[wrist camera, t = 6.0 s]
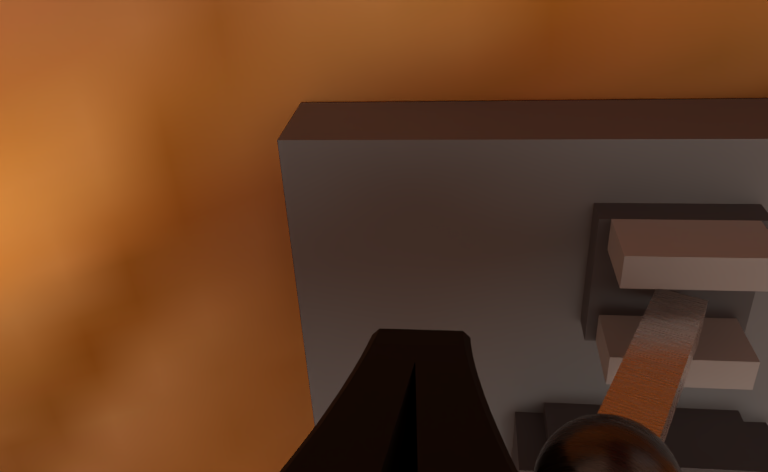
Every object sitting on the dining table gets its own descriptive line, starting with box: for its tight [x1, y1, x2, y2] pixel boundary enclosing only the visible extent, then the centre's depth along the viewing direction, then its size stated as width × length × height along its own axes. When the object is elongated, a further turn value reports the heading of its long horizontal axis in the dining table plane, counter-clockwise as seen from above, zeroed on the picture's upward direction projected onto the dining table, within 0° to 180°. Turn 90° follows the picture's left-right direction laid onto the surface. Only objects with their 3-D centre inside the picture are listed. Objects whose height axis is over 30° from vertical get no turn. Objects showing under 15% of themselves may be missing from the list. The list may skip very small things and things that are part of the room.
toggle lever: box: [534, 289, 708, 472], centre depth 10 cm, size 2×2×5 cm
